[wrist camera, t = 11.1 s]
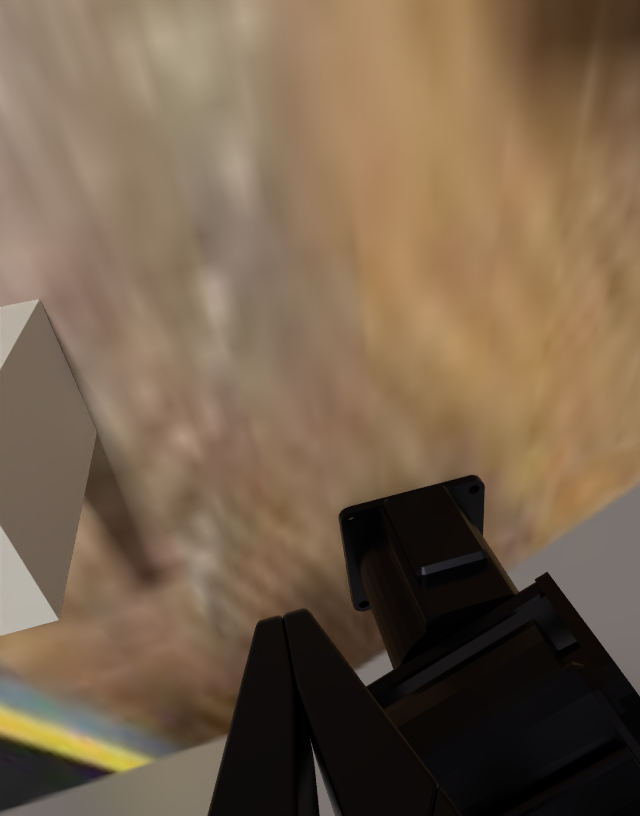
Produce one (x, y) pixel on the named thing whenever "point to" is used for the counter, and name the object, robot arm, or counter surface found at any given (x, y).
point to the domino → (38, 467)
